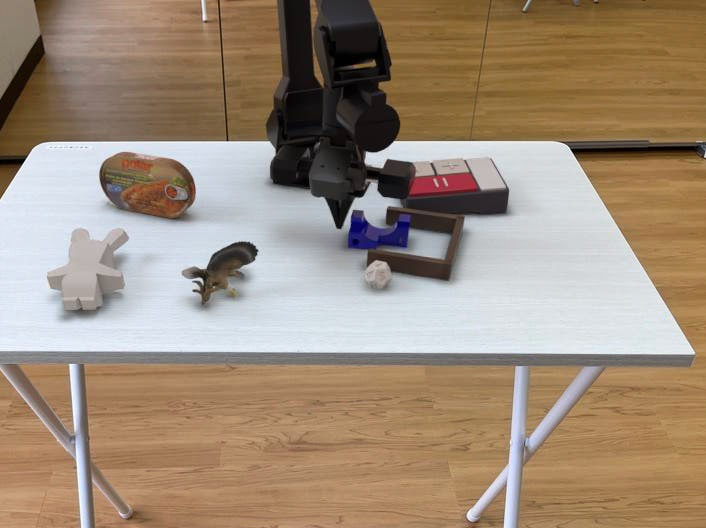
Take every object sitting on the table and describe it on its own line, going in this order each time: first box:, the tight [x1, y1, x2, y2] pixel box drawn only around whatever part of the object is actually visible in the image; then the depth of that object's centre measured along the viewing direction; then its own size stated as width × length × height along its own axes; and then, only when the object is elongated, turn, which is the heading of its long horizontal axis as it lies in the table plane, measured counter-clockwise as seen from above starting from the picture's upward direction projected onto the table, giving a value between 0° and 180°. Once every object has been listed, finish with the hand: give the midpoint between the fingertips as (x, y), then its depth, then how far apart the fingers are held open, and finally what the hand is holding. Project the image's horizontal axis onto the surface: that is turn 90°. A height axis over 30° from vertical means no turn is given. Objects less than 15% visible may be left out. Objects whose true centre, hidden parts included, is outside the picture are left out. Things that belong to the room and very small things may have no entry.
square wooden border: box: [366, 205, 466, 282], centre depth 106 cm, size 11×13×2 cm
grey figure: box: [46, 227, 130, 311], centre depth 100 cm, size 10×5×15 cm
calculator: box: [399, 156, 510, 215], centre depth 117 cm, size 11×4×15 cm
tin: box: [98, 151, 197, 219], centre depth 114 cm, size 15×3×8 cm, turn 68°
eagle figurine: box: [180, 240, 260, 306], centre depth 98 cm, size 8×7×9 cm
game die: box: [363, 260, 393, 290], centre depth 100 cm, size 4×4×3 cm
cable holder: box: [347, 209, 411, 251], centre depth 107 cm, size 8×4×4 cm, turn 78°
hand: (339, 227), depth 109 cm, fingers closed
